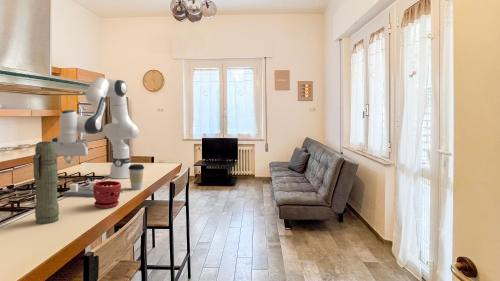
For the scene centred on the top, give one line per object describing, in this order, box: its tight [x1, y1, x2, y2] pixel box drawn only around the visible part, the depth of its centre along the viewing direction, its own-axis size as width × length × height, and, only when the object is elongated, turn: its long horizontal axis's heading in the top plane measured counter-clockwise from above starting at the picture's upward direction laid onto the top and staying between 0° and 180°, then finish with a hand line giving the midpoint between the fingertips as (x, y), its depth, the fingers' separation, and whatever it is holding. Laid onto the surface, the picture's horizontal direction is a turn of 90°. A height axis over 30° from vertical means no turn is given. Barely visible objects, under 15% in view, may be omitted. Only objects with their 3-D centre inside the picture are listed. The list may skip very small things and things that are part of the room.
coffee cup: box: [128, 163, 145, 191], centre depth 209 cm, size 9×9×15 cm
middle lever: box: [88, 181, 96, 190], centre depth 196 cm, size 3×3×4 cm
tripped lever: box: [69, 183, 79, 192], centre depth 190 cm, size 3×3×4 cm
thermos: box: [32, 141, 60, 225], centre depth 146 cm, size 9×12×35 cm
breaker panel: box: [62, 185, 99, 198], centre depth 196 cm, size 16×18×2 cm
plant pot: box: [93, 180, 122, 209], centre depth 172 cm, size 13×13×12 cm
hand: (69, 163), depth 189 cm, fingers closed
